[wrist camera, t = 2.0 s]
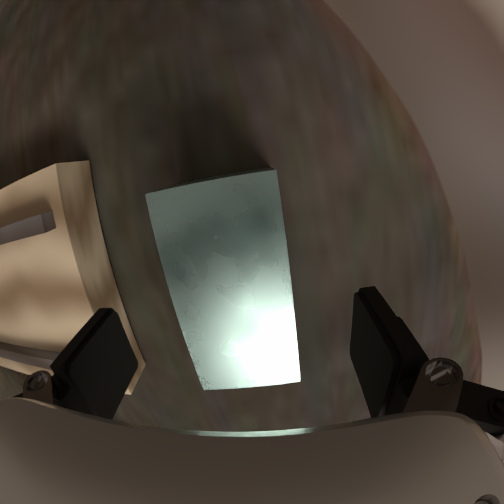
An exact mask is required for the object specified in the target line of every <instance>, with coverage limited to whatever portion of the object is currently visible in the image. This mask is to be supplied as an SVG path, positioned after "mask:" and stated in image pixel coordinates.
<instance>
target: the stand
mask: <svg viewBox="0 0 504 504" xmlns="http://www.w3.org/2000/svg"><path fill="white" fill-rule="evenodd" d="M99 308H113V309H114V310H115V311H116V312H117V313H118V315H119V317H120V320H121V322H122V325H123V328H124V330H125V333H126V335H127V337H128V340H129V342H130V344H131V347H132V349H133V351H134V354H135V356H136V358H137V360H138V368H137V370H136V372H135V374H134V376H133V378H132V380H131V382H130V384H129V386H128V388H127V390H126V392H125V394H132V392H133V390H134V388H135V385H136V383H137V381H138V379H139V377H140V375H141V373H142V371H143V369H144V367H145V365H146V364H145V362H144V360H143V357H142V355H141V352H140V350H139V348H138V345H137V343H136V340H135V337H134V335H133V332H132V330H131V327H130V324H129V321H128V319H127V316H126V313H125V310H124V307H123V304H122V301H121V298H120V295H119V292H118V289H117V286H116V282H115V279H114V276H113V272H112V269H111V265H110V262H109V258H108V254H107V250H106V247H105V243H104V238H103V234H102V230H101V225H100V221H99V216H98V211H97V206H96V201H95V196H94V190H93V184H92V177H91V171H90V163H89V161H76V162H65V163H56V164H53V165H51V166H49V167H46V168H44V169H42V170H39V171H37V172H35V173H33V174H31V175H29V176H26V177H24V178H22V179H20V180H18V181H16V182H14V183H12V184H10V185H8V186H6V187H4V188H3V189H1V190H0V366H3V367H6V368H9V369H12V370H15V371H18V372H21V373H25V374H28V375H31V374H32V373H34V372H37V371H40V370H45V371H48V372H49V373H50V374H51V376H53V374H54V373H53V371H52V370H51V368H50V365H51V364H52V362H53V361H54V360H55V359H56V358H57V356H58V355H59V354H60V353H61V351H62V350H63V349H64V348H65V347H66V345H67V344H68V343H69V342H70V341H71V340H72V338H73V337H74V336H75V335H76V334H77V333H78V331H79V330H80V329H81V328H82V327H83V326H84V325H85V324H86V322H87V321H88V320H89V319H90V318H91V317H92V316H93V315H94V313H95V312H96V311H97V310H98V309H99Z"/></svg>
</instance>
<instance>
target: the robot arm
mask: <svg viewBox="0 0 504 504" xmlns="http://www.w3.org/2000/svg"><path fill="white" fill-rule="evenodd" d="M350 356H351V360H352V362H353V365H354V368H355V371H356V374H357V376H358V379H359V382H360V385H361V388H362V391H363V394H364V397H365V400H366V403H367V406H368V409H369V412H370V415H371V418H369V419H363V420H358V421H352V422H346V423H340V424H334V425H327V426H319V427H310V428H301V429H290V430H277V431H258V432H214V431H194V430H181V429H170V428H161V427H153V426H146V425H140V424H133V423H127V422H122V421H117V420H112V419H113V417H114V415H115V412H116V410H117V408H118V406H119V404H120V402H121V400H122V398H123V396H124V394H125V392H126V390H127V388H128V386H129V384H130V382H131V380H132V378H133V376H134V374H135V372H136V370H137V368H138V360H137V358H136V356H135V354H134V351H133V349H132V347H131V344H130V342H129V340H128V337H127V335H126V333H125V330H124V328H123V325H122V322H121V320H120V317H119V315H118V313H117V312H116V311H115V310H114V309H113V308H99V309H98V310H97V311H96V312H95V313H94V315H93V316H92V317H91V318H90V319H89V320H88V321H87V322H86V324H85V325H84V326H83V327H82V328H81V329H80V330H79V331H78V333H77V334H76V335H75V336H74V337H73V338H72V340H71V341H70V342H69V343H68V344H67V345H66V347H65V348H64V349H63V350H62V351H61V353H60V354H59V355H58V356H57V358H56V359H55V360H54V361H53V362H52V364H51V365H50V368H51V370H52V371H53V373H54V374H53V376H51V374H50V373H49V372H48V371H45V370H40V371H37V372H34V373H32V374H31V375H30V376H29V377H28V378H27V379H26V380H25V382H24V385H23V393H21V394H19V395H16V396H14V397H11V398H4V399H1V400H0V504H504V391H501V390H497V389H494V388H490V387H486V386H483V385H479V384H476V383H472V382H469V381H466V380H463V378H464V373H463V370H462V368H461V367H460V365H459V364H458V363H456V362H455V361H454V360H451V359H449V358H444V357H436V358H432V359H430V360H429V358H428V357H427V355H426V354H425V352H424V351H423V349H422V348H421V346H420V345H419V343H418V342H417V340H416V339H415V337H414V336H413V334H412V333H411V332H410V330H409V329H408V327H407V326H406V324H405V323H404V322H403V320H402V319H401V318H400V317H397V316H396V315H395V313H394V312H393V311H392V309H391V308H390V306H389V305H388V304H387V302H386V301H385V299H384V298H383V297H382V295H381V294H380V293H379V291H378V290H377V289H376V287H375V286H371V287H364V288H360V289H359V291H358V292H357V293H355V294H354V304H353V319H352V331H351V342H350Z"/></svg>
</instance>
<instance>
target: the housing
mask: <svg viewBox="0 0 504 504" xmlns="http://www.w3.org/2000/svg"><path fill="white" fill-rule="evenodd" d="M145 196H146V201H147V206H148V210H149V215H150V219H151V223H152V228H153V232H154V236H155V240H156V244H157V248H158V252H159V256H160V259H161V263H162V267H163V270H164V274H165V278H166V281H167V285H168V288H169V291H170V295H171V298H172V301H173V305H174V308H175V311H176V314H177V317H178V320H179V323H180V326H181V329H182V332H183V335H184V338H185V341H186V344H187V347H188V350H189V352H190V355H191V358H192V361H193V363H194V366H195V369H196V371H197V374H198V377H199V379H200V382H201V384H202V387H203V389H204V390H212V389H232V388H246V387H258V386H268V385H277V384H285V383H292V382H299V381H300V369H299V357H298V345H297V334H296V324H295V314H294V304H293V295H292V286H291V277H290V268H289V260H288V251H287V243H286V236H285V228H284V220H283V213H282V206H281V198H280V191H279V185H278V178H277V171H276V169H274V168H271V167H268V168H261V169H254V170H248V171H241V172H235V173H230V174H224V175H218V176H213V177H207V178H202V179H197V180H192V181H187V182H183V183H178V184H175V185H172V186H169V187H166V188H162V189H159V190H156V191H153V192H150V193H147V194H145Z"/></svg>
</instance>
